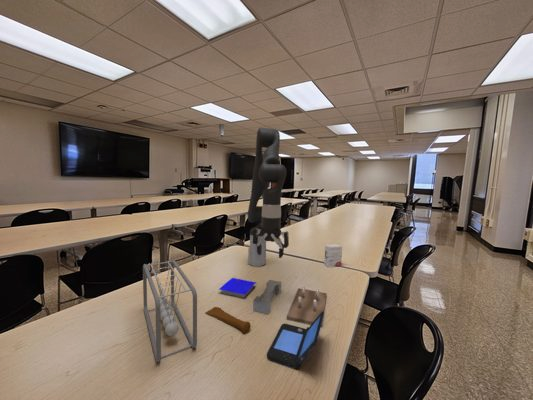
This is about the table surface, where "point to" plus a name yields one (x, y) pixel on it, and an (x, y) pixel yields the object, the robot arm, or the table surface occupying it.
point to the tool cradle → (307, 306)
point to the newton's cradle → (168, 309)
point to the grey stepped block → (266, 297)
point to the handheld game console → (294, 343)
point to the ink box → (333, 255)
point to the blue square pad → (237, 287)
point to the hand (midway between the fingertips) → (270, 255)
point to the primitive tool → (229, 319)
